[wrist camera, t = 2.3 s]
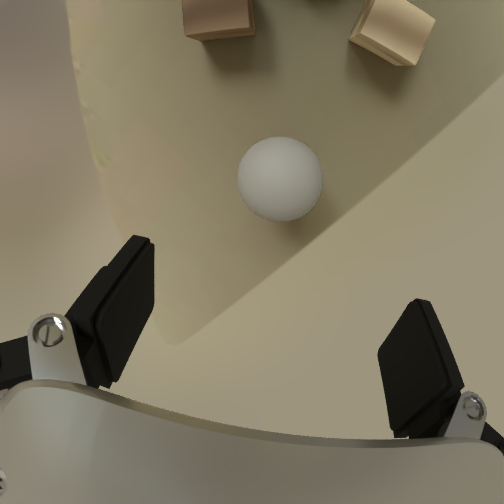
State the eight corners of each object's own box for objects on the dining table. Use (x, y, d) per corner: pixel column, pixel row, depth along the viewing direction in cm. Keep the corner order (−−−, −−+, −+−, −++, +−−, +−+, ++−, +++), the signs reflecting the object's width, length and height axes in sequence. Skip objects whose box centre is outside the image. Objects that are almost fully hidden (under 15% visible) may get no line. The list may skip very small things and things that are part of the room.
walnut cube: (197, -4, 20) (180, -17, 16) (252, -11, 19) (244, -27, 15) (201, 41, 23) (184, 35, 19) (255, 35, 22) (249, 27, 18)
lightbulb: (245, 125, 27) (221, 153, 18) (311, 118, 26) (324, 143, 17) (255, 184, 30) (238, 241, 21) (316, 179, 29) (329, 234, 20)
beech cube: (366, -1, 19) (381, -14, 14) (413, 26, 19) (435, 19, 15) (347, 39, 21) (360, 32, 17) (395, 65, 22) (415, 65, 18)
